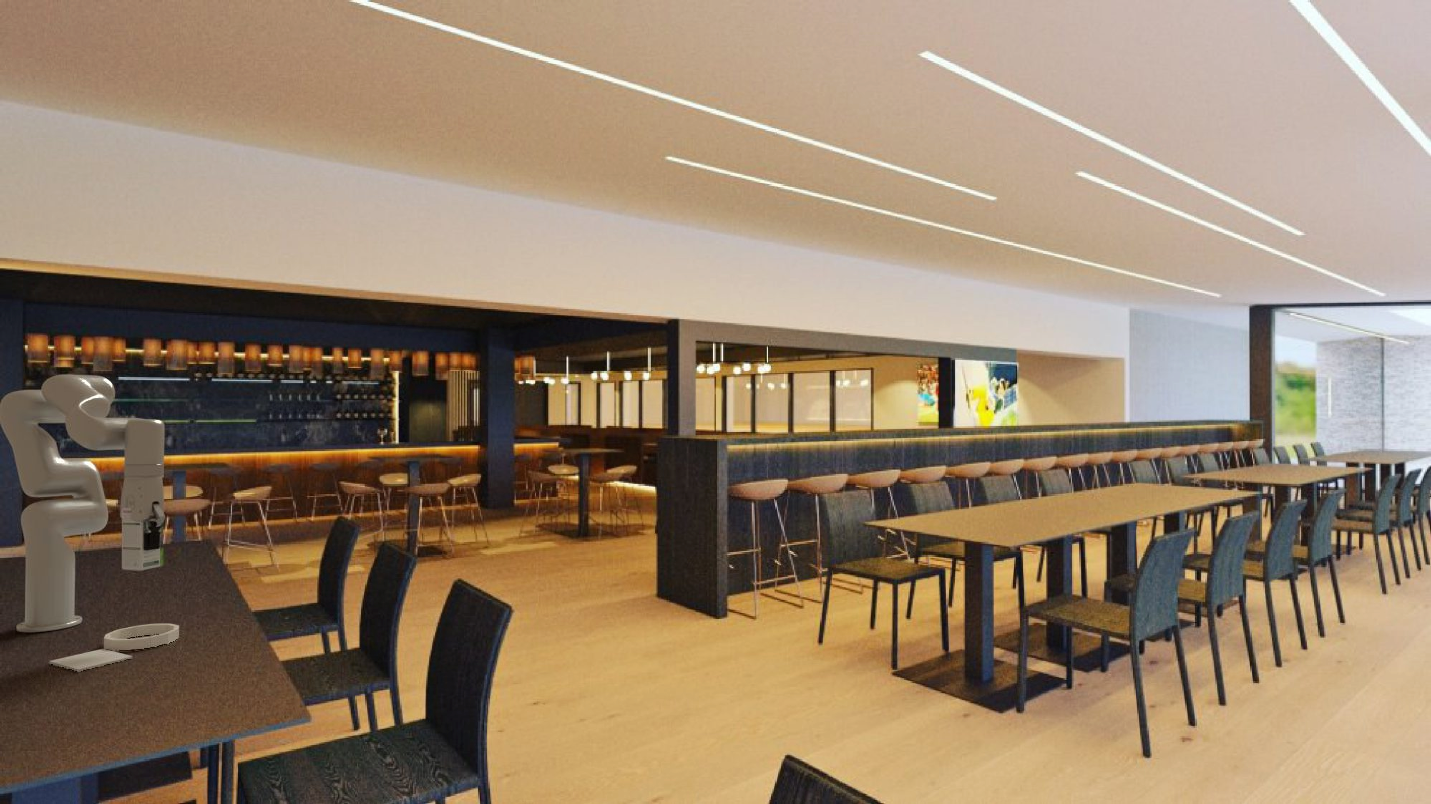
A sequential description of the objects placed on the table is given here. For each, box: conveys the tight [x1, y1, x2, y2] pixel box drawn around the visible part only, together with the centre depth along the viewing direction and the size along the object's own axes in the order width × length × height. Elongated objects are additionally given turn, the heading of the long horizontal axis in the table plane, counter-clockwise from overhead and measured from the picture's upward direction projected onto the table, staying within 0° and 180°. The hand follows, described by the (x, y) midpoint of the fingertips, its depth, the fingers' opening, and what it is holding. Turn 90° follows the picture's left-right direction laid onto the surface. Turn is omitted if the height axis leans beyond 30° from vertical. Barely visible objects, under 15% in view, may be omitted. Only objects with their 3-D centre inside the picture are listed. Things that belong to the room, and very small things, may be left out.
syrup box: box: [121, 507, 164, 572], centre depth 185 cm, size 6×6×14 cm
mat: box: [48, 648, 133, 673], centre depth 170 cm, size 12×10×1 cm
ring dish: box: [103, 623, 180, 652], centre depth 184 cm, size 14×14×2 cm
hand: (142, 547), depth 185 cm, fingers closed on syrup box, 6 cm apart
